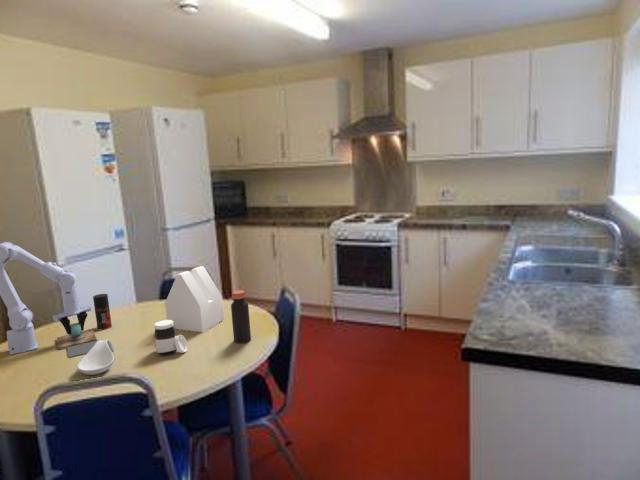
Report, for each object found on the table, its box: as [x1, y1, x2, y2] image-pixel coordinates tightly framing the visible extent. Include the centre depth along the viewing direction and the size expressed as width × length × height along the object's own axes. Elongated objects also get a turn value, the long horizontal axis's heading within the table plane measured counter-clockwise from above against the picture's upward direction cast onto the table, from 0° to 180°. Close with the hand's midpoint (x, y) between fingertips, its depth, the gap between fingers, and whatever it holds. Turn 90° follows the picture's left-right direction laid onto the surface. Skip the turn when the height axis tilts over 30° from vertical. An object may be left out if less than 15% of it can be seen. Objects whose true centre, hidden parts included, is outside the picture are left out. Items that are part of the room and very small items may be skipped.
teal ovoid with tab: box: [70, 322, 83, 336], centre depth 189 cm, size 6×5×4 cm
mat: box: [66, 339, 100, 359], centre depth 180 cm, size 12×12×1 cm
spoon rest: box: [76, 338, 115, 376], centre depth 164 cm, size 24×12×7 cm, turn 15°
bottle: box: [230, 289, 252, 344], centre depth 178 cm, size 7×7×20 cm
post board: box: [56, 329, 98, 351], centre depth 189 cm, size 14×14×3 cm
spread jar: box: [153, 319, 188, 356], centre depth 172 cm, size 12×11×12 cm
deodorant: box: [92, 293, 113, 331], centre depth 203 cm, size 6×6×15 cm
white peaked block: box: [164, 265, 225, 333], centre depth 200 cm, size 19×15×25 cm
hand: (75, 332), depth 189 cm, fingers closed on teal ovoid with tab, 5 cm apart
